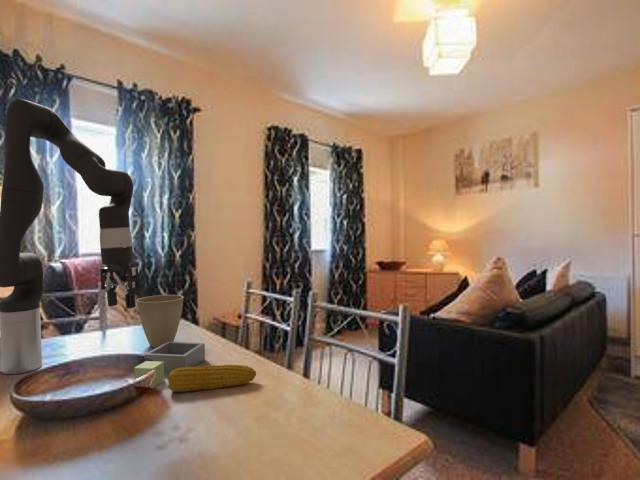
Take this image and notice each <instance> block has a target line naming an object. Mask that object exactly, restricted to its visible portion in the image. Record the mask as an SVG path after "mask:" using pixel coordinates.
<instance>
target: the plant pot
mask: <svg viewBox="0 0 640 480" xmlns="http://www.w3.org/2000/svg"><path fill="white" fill-rule="evenodd" d="M136 304H137V305H136V306H137V311H138V315H139V320H140V322H141V323H140V324H141V326H142V329H143V331H144V335H145V338H146V340H147V342H148V344H149V346H150V347H152V348H157V347H159V346H161V345H163V344H165V343H166V342H175V338H176V336H177V332H178V329H179V326H180V323H181V318H182V317H181V316H182V312H183V305H184V296H183V295H180V294H179V295H178V294H159V295H158V294H157V295H151V296H145V297H141V298H137V299H136Z"/></svg>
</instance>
